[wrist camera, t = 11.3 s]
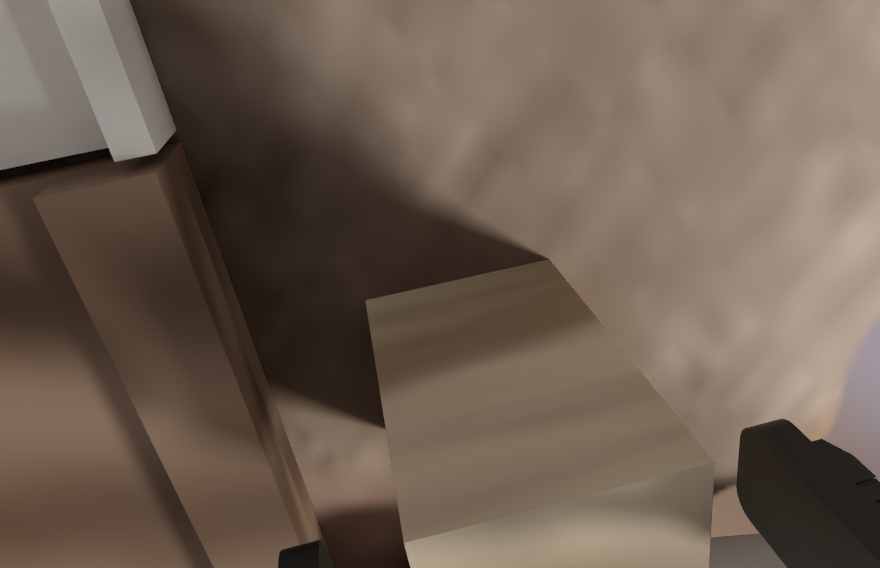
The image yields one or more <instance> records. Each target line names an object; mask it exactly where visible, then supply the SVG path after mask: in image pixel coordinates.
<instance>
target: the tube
mask: <svg viewBox="0 0 880 568" xmlns="http://www.w3.org/2000/svg"><path fill="white" fill-rule="evenodd" d="M709 568H787V567H786V566H785V565H784V563H783V562H782V561H781V560H780V558H779V557H778V556H777V554H776V553H775V552H774V551H773V549H772V548H771V547H770V545H769V544H768V543H767V542H766V540H765V539H764V538H763V537H762V535H761V534H751V535H739V536H726V537H714V538H710V556H709Z"/></svg>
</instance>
